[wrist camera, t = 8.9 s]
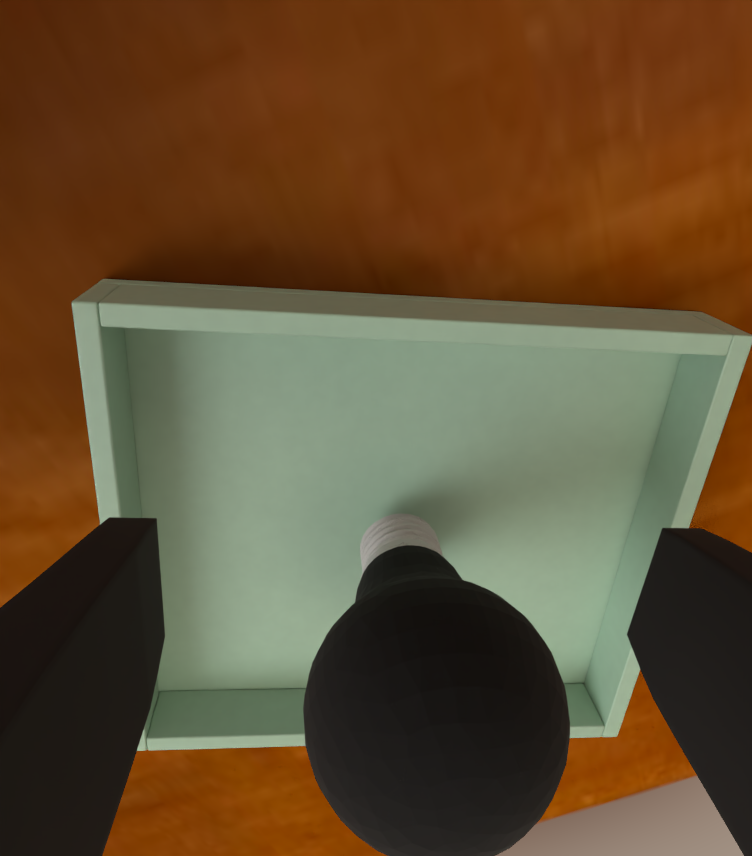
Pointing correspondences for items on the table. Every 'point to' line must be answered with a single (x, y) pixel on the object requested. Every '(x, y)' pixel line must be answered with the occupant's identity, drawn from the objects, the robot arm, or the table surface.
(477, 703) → the light bulb
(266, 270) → the table surface
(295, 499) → the tray
